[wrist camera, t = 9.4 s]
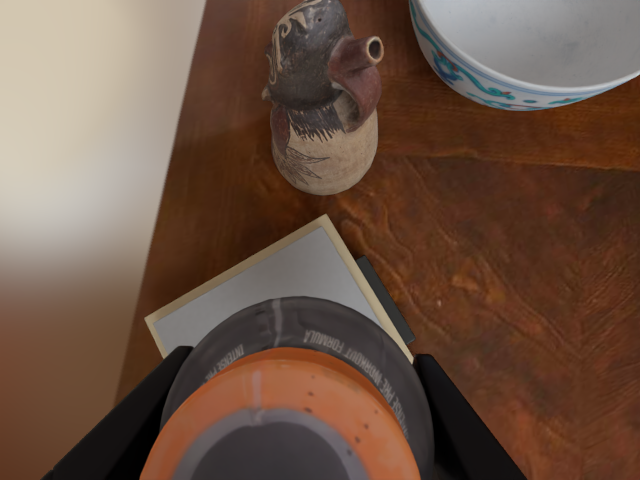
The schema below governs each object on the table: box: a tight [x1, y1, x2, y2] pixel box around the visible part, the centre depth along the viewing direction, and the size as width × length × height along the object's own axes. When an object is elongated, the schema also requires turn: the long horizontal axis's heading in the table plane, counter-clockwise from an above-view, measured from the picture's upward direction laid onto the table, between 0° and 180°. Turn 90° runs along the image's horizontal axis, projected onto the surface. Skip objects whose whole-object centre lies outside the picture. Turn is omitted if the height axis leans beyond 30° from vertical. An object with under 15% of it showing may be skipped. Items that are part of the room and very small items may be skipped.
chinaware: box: [409, 0, 640, 111], centre depth 22 cm, size 15×15×8 cm
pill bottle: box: [140, 296, 435, 480], centre depth 10 cm, size 6×6×11 cm
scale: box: [144, 214, 416, 364], centre depth 21 cm, size 14×13×3 cm
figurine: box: [262, 0, 384, 195], centre depth 19 cm, size 7×7×12 cm
